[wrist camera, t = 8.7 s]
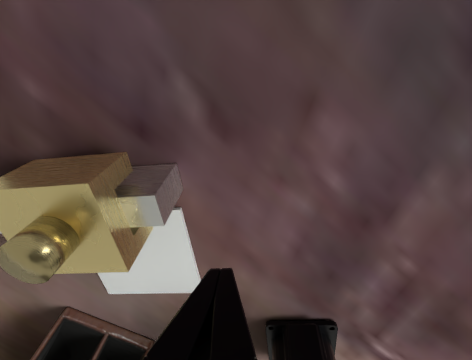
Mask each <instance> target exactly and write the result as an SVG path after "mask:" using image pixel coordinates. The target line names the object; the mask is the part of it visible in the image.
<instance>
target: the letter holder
mask: <svg viewBox="0 0 472 360" xmlns="http://www.w3.org/2000/svg"><path fill="white" fill-rule="evenodd" d="M154 343H155V341H154V340H152V339H149V338H147V337H145V336H142V335H139V334H137V333H134V332H132V331H129V330H127V329H124V328H122V327H119V326H117V325H114V324H112V323H109V322H107V321H104V320H101V319H99V318H96V317H94V316H91V315H89V314H86V313H84V312H81V311H79V310H76V309H74V308H71V307H67V308H65V310H64V311H63V312H62V313H61V315H60V317H59V318H58V320H57V321H56V323H55V324H54V325H53V327H52V328H51V330H50V331H49V333H48V334H47V336H46V337H45V339H44V340H43V342H42V343H41V344H40V346H39V347H38V349H37V350H36V351H35V353H34V355H33V356H32V358H31V359H30V360H142V359H143V358H144V357H145V356H147V353H148V352H149V350H150V349H151V347H152V346H153V345H154Z"/></svg>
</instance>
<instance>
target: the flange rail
mask: <svg viewBox="0 0 472 360" xmlns="http://www.w3.org/2000/svg"><path fill="white" fill-rule="evenodd" d="M132 169H133V171H132V172H131V173H130V174H129V175H128V176H127V177H126V178H125V179H124V180H123V181H122V182H121V183H120V184H119V185H118V186H117V187H116V188H115V189H114V190H115V192H116V195H117V197H118V199H119V202H120V204H121V207H122V209H123V212H124V214H125V217H126V219H127V222H128V224H129V227H151V226H165V224H166V222H167V220H168V218H169V216H170V214H171V212H172V210H173V208H174V206H175V204H176V202H177V200H178V198H179V196H180V194H181V193H182V191H183V186H182V182H181V178H180V175H179V171H178V167H177V163H172V164H160V165H147V166H135V167H132ZM0 234H2V233H1V231H0Z"/></svg>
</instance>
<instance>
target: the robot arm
mask: <svg viewBox="0 0 472 360" xmlns="http://www.w3.org/2000/svg"><path fill="white" fill-rule="evenodd" d="M337 331H338V328H337V324H336V322H334V321H268V322H266V335H267V344H268V353H269V360H335V347H336V339H337ZM142 360H257V358H256V354H255V350H254V346H253V343H252V339H251V335H250V332H249V328H248V324H247V321H246V317H245V313H244V310H243V306H242V303H241V299H240V295H239V292H238V288H237V284H236V281H235V277H234V273H233V270H232V268H222V269H219V268H214V269H209V270H208V272H207V273H206V275H205V276H204V277H203V279H202V280H201V281H200V283H199V284H198V285H197V287H196V288H195V289H194V291H193V292H192V293H191V295H190V296H189V297H188V299H187V300H186V302H185V303H184V304H183V306H182V307H181V308H180V310H179V311H178V312H177V314H176V315H175V316H174V318H173V319H172V320H171V322H170V323H169V324H168V326H167V327H166V329H165V330H164V331H163V333H162V334H161V335H160V337H159V338H158V339H157V341H156V342H155V343H154V345H153V346H152V347H151V349H150V350H149V352H148V353H147V356H145V357H144V358H143V359H142Z"/></svg>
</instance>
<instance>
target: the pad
mask: <svg viewBox="0 0 472 360" xmlns="http://www.w3.org/2000/svg"><path fill="white" fill-rule="evenodd" d="M98 275H99V277H100V279H101V280H102V282H103V284H104V286H105V288H106V290H107V291H108V293H109V294H149V293H192V292H193V291H194V289H195V288H196V287H197V285H198V284H199V283H200V281H201V279H200V275H199V271H198V268H197V264H196V260H195V257H194V253H193V249H192V245H191V242H190V238H189V234H188V231H187V227H186V223H185V220H184V216H183V212H182V209H181V207H177V208H173V210H172V212H171V214H170V216H169V218H168V220H167V222H166V224H165V226H153V230H152V231H151V233H150V235H149V237H148V238H147V240H146V242H145V244H144V246H143V247H142V249H141V251H140V253H139V254H138V256H137V258H136V260H135V261H134V263H133V265H132V267H131V268H130V270H129V272H109V273H98Z"/></svg>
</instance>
